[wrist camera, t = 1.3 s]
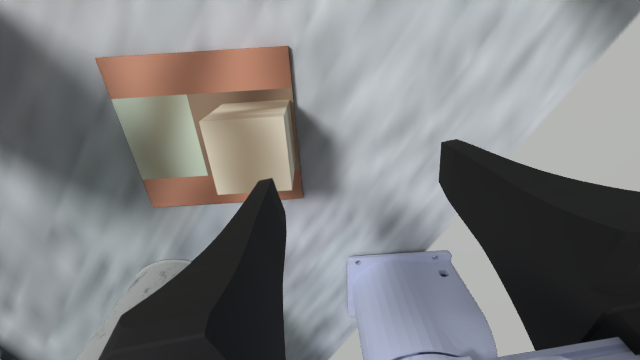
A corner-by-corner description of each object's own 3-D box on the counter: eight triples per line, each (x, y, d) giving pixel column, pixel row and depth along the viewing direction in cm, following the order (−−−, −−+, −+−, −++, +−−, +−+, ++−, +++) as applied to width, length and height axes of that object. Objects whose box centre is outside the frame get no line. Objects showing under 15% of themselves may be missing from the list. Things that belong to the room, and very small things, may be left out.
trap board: (288, 45, 18) (287, 46, 17) (302, 196, 23) (302, 198, 22) (98, 57, 18) (94, 58, 17) (154, 205, 22) (153, 207, 22)
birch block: (289, 99, 19) (283, 116, 15) (295, 160, 21) (292, 190, 17) (222, 103, 19) (198, 121, 15) (235, 164, 21) (217, 194, 17)
